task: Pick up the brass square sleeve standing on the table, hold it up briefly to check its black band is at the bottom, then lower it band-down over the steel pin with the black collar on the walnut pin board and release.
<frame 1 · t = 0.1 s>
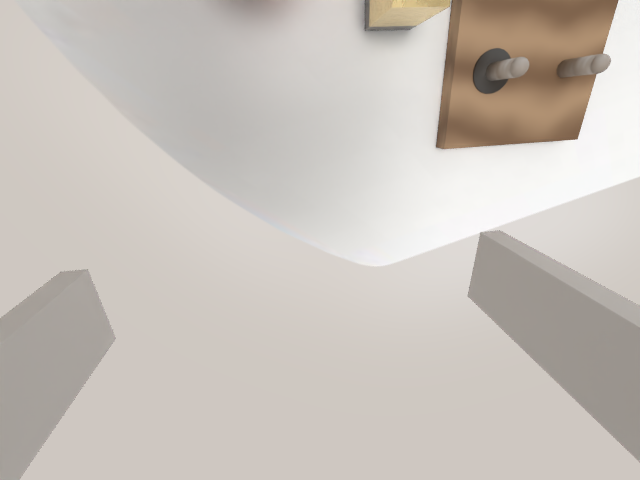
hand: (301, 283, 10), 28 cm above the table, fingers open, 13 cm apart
sleeve: (388, 1, 31), on the table
pin board: (515, 72, 35), on the table
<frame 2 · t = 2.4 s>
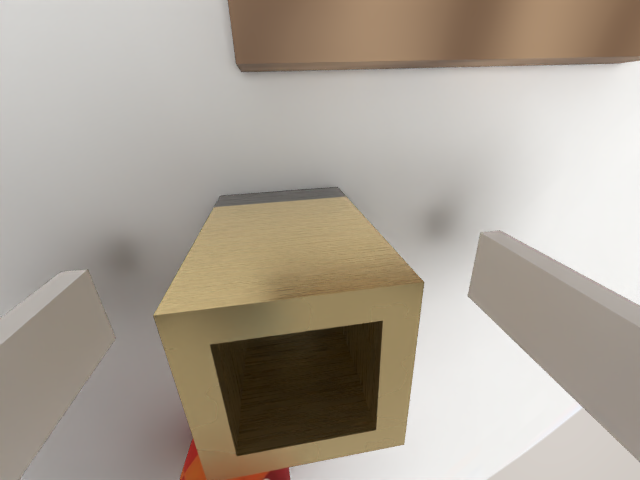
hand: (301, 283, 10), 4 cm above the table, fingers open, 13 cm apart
sleeve: (285, 244, 14), on the table
paper cup: (238, 436, 19), on the table
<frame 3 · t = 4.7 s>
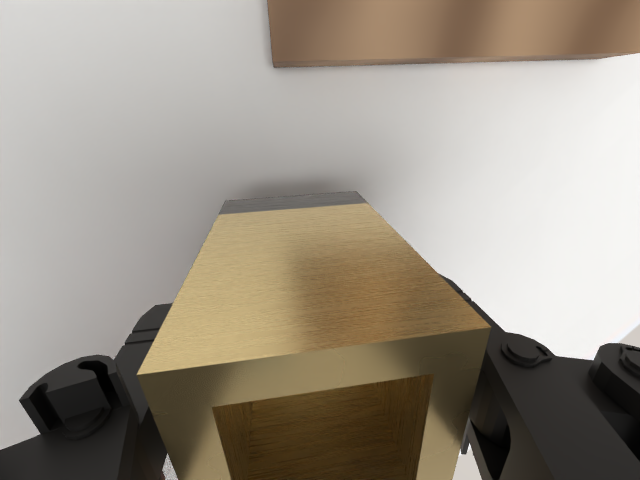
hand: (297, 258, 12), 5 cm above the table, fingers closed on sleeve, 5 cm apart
sleeve: (296, 254, 12), point 4 cm above the table, touching gripper
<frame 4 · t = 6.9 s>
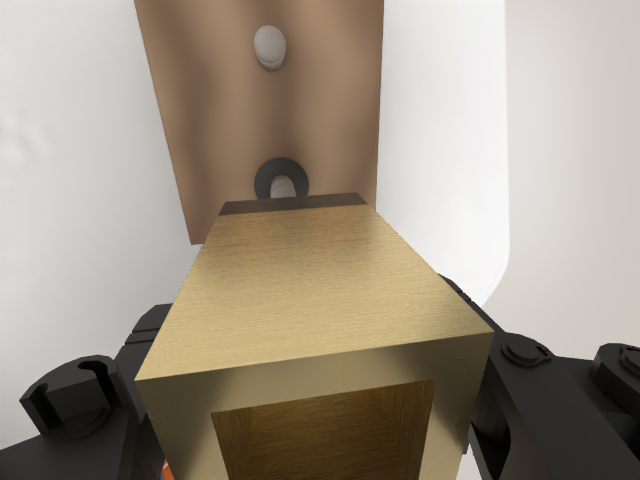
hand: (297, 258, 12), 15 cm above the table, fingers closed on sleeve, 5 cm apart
sleeve: (296, 255, 12), point 15 cm above the table, touching gripper
pin board: (276, 124, 24), on the table
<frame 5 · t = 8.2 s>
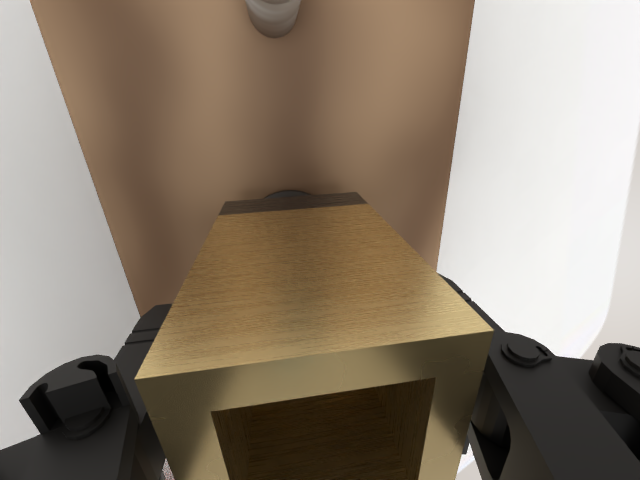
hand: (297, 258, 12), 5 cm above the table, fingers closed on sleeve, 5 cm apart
sleeve: (296, 254, 12), point 4 cm above the table, touching gripper
pin board: (281, 134, 15), on the table
when the fingers open (2 cm above the table, at t = 9.4 s): sleeve stays where it is, resting on pin board.
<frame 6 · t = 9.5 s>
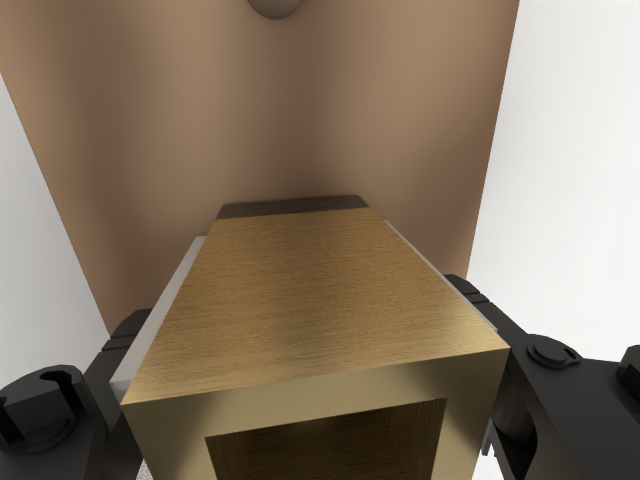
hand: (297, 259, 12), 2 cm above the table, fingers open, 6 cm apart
sleeve: (296, 259, 12), point 2 cm above the table, touching pin board
pin board: (283, 138, 12), on the table
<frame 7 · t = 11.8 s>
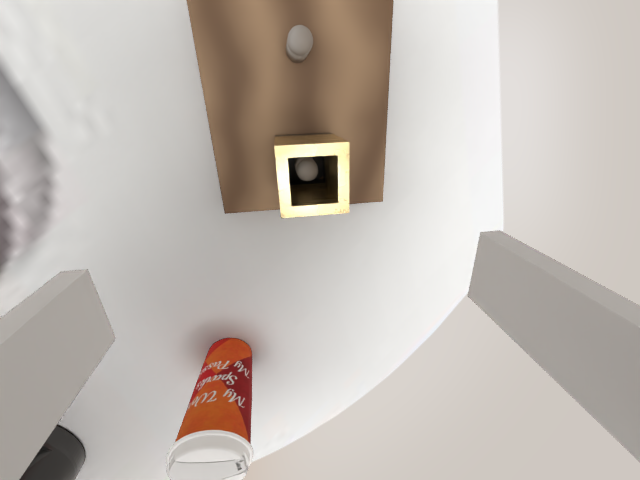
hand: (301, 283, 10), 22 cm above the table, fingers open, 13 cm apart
sleeve: (304, 161, 28), point 2 cm above the table, touching pin board
pin board: (298, 109, 28), on the table
paper cup: (230, 353, 39), on the table
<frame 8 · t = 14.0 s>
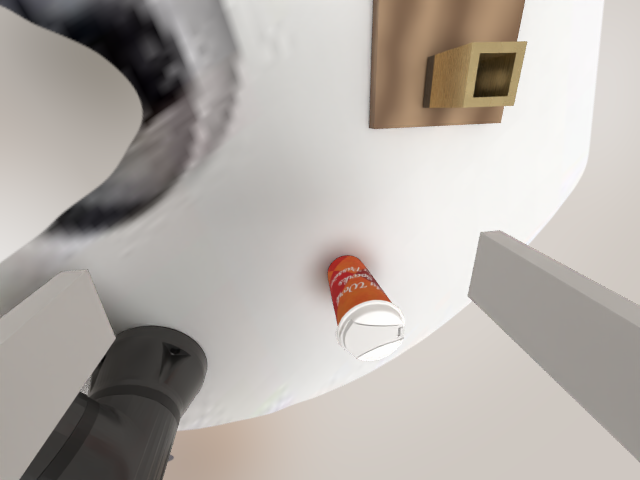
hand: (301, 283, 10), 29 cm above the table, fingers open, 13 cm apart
sleeve: (446, 82, 33), point 2 cm above the table, touching pin board
pin board: (440, 39, 34), on the table
paper cup: (345, 271, 44), on the table
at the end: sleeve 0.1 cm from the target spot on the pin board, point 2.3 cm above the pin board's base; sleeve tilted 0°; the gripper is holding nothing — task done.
